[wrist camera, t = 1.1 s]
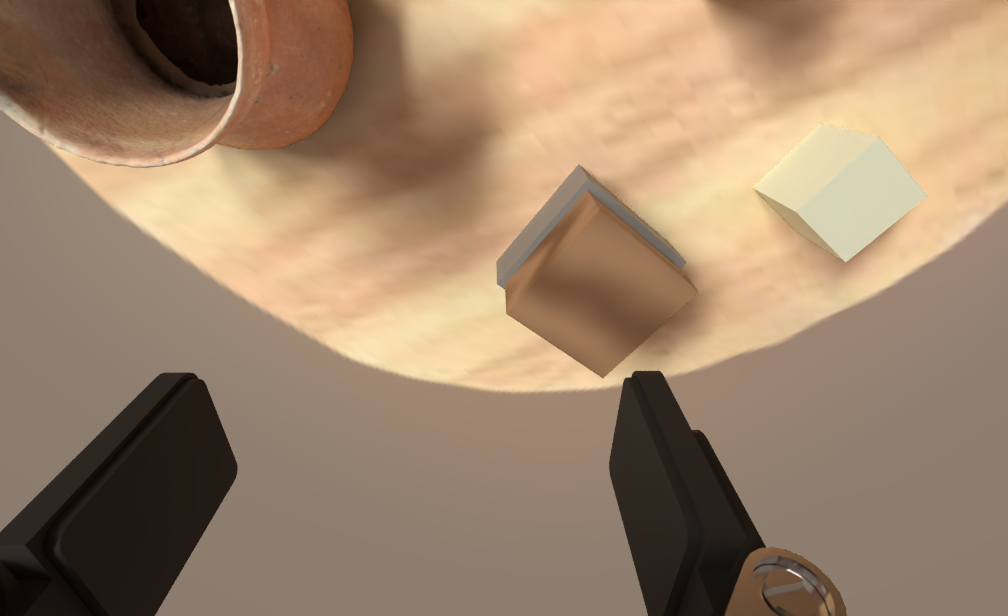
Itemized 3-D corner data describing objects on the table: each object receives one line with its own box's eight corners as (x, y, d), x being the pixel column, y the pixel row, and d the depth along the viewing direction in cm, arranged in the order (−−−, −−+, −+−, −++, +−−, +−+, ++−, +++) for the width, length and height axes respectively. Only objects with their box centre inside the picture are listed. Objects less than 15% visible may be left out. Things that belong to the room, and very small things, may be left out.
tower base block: (577, 163, 35) (588, 178, 31) (666, 239, 38) (686, 262, 34) (496, 259, 39) (497, 283, 35) (583, 321, 42) (593, 350, 38)
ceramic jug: (307, -187, 25) (113, -416, 13) (419, 91, 32) (364, 119, 19) (48, -48, 28) (-314, -122, 16) (201, 179, 35) (32, 253, 22)
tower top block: (586, 189, 31) (600, 210, 27) (675, 263, 34) (698, 291, 30) (505, 283, 35) (506, 313, 31) (591, 343, 38) (602, 378, 34)
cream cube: (819, 122, 34) (879, 136, 28) (863, 173, 35) (927, 196, 30) (751, 187, 36) (796, 211, 31) (796, 232, 38) (845, 262, 33)
